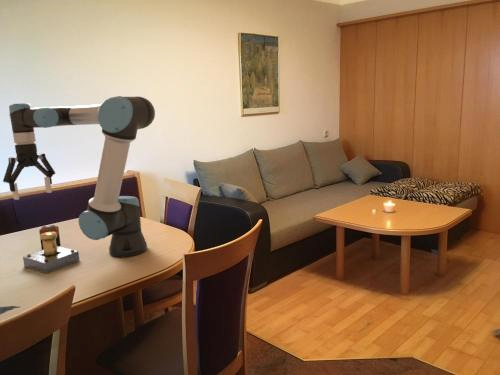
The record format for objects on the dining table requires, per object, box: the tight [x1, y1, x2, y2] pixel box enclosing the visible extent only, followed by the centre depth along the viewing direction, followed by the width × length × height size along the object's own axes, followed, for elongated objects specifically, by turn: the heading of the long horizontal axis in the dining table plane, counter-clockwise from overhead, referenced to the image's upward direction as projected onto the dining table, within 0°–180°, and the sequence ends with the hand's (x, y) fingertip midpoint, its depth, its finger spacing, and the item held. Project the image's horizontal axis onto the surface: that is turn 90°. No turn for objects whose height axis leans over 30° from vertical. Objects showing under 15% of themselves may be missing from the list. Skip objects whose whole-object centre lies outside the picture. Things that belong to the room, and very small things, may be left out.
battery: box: [38, 224, 62, 251], centre depth 181 cm, size 4×7×10 cm, turn 102°
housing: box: [22, 246, 80, 274], centre depth 163 cm, size 14×14×5 cm
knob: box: [39, 232, 58, 257], centre depth 163 cm, size 6×6×12 cm
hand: (33, 195), depth 171 cm, fingers open, 13 cm apart
